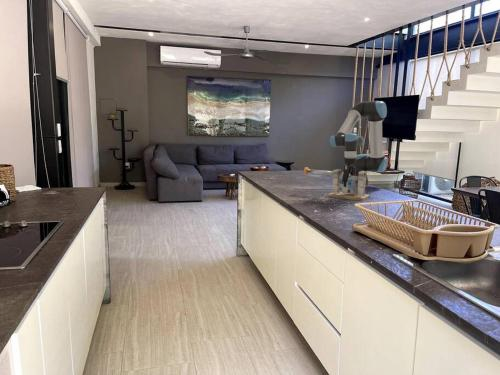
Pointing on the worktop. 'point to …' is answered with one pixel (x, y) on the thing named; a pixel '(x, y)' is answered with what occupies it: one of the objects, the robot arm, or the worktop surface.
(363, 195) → the cradle
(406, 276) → the worktop surface
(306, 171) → the lock shaft
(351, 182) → the light bulb box
